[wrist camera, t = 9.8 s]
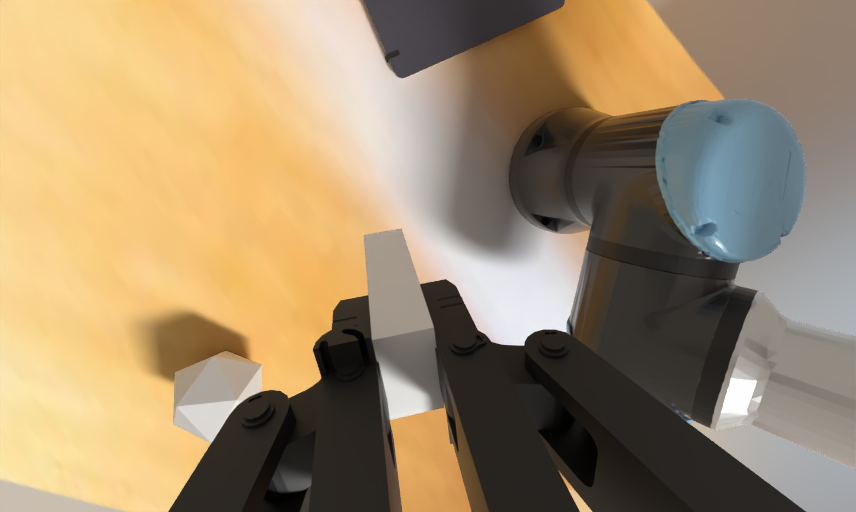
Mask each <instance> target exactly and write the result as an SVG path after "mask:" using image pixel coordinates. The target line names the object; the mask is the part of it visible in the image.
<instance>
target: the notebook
mask: <svg viewBox="0 0 856 512" xmlns="http://www.w3.org/2000/svg"><path fill="white" fill-rule="evenodd" d="M363 1H364V3H365V5H366V8H367V10H368V12H369V15H370V17H371V19H372V22H373V24H374V27H375V29H376V31H377V34H378V36H379V38H380V41H381V43H382V45H383V48H384V50H385V53H386V56H385V58H386V60H387V62H388V60H389V62H390V64H391V67H392V69H393V71H394V73H395V75H396V76H397V77H398V78H405V77H408V76H410V75H412V74H415V73H417V72H419V71H421V70H423V69H426V68H428V67H430V66H432V65H435V64H437V63H439V62H441V61H444V60H446V59H448V58H450V57H452V56H455V55H457V54H459V53H461V52H464V51H466V50H468V49H470V48H473V47H475V46H477V45H479V44H481V43H484V42H486V41H488V40H490V39H493V38H495V37H497V36H499V35H501V34H504V33H506V32H508V31H510V30H513V29H515V28H517V27H519V26H522V25H524V24H526V23H528V22H530V21H533V20H535V19H537V18H539V17H542V16H544V15H546V14H548V13H550V12H553V11H555V10H557V9H559V8H561V7H562V6H563V5H564V2H565V0H363Z"/></svg>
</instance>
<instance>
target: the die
mask: <svg viewBox="0 0 856 512" xmlns="http://www.w3.org/2000/svg"><path fill="white" fill-rule="evenodd" d="M259 392H262V365H261V364H258V363H256V362H253V361H251V360H248V359H246V358H243V357H241V356H238V355H236V354H233V353H231V352H228V351H224V352H221V353H219V354H217V355H214V356H212V357H210V358H207V359H205V360H203V361H200V362H198V363H196V364H193V365H191V366H189V367H186V368H184V369H182V370H179V371H177V372H175V387H174V419H173V424H174V425H176V426H178V427H180V428H182V429H184V430H186V431H188V432H190V433H192V434H194V435H196V436H197V437H199V438H201V439H203V440H205V441H207V442H209V443H212V442H213V440H214V438H215V437H216V435H217V434H218V432H219V431H220V429H221V427H222V426H223V424H224V423H225V421H226V419H227V418H228V416H229V415H230V413H231V412H232V411H233V410H234V409H235V408H236V406H237V405H238V404H240V403H241V402H243V401H244V400H245V399H247V398H248V397H250V396H252V395H255V394H257V393H259Z"/></svg>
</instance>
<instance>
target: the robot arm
mask: <svg viewBox="0 0 856 512" xmlns="http://www.w3.org/2000/svg"><path fill="white" fill-rule="evenodd" d="M509 182H510V189H511V194H512V197H513V200H514V202H515V204H516V206H517V208H518V210H519V211H520V213H521V214H522V215H523V216H524V218H525V219H526V220H528V221H529V222H530V223H531V224H533V225H535V226H536V227H538V228H541V229H544V230H547V231H550V232H554V233H560V234H572V233H578V232H582V231H587V230H590V234H589V239H588V243H587V247H586V250H585V255H584V259H583V264H582V268H581V273H580V277H579V282H578V286H577V290H576V294H575V298H574V302H573V306H572V311H571V315H570V316H569V319H568V321H567V326H566V328H567V333H566V332H562V331H558V330H541V331H537V332H534V333H533V334H531V335H530V336H528V337H527V339H526V341H525V345H524V346H514V345H500V344H497V343H493V342H491V341H490V339H489V338H488V337H487V336H486V335H485V334H484V333H482V332H480V331H478V330H477V328H476V326H475V324H474V322H473V320H472V318H471V316H470V314H469V312H468V310H467V308H466V306H465V304H464V301H463V299H462V297H460V293H459V291H458V289H457V287H456V286H455V285H454V284H452V283H451V282H449V281H448V280H446V279H445V280H440V281H435V282H429V283H424V284H419V281H418V277H417V274H416V271H415V268H414V265H413V262H412V259H411V256H410V253H409V250H408V247H407V244H406V241H405V238H404V235H403V232H402V229H397V230H391V231H385V232H379V233H373V234H368V235H364V245H365V258H366V270H367V283H368V295H367V296H362V297H357V298H352V299H347V300H341V301H340V302H339V303H338V305H337V306H336V308H335V309H334V311H333V323H332V330H331V331H329V332H327V333H326V334H324V335H322V336H321V337H320V338H319V339H318V340H317V342H316V343H315V345H314V348H313V352H314V355H315V358H316V361H317V364H318V367H319V370H320V374H321V380H320V381H319V382H317V383H316V384H315V385H314V386H312V387H311V388H309V389H307V390H305V391H303V392H301V393H299V394H297V395H295V396H293V397H291V398H288V397H287V395H285V394H284V393H282V392H281V391H275V390H269V391H263V392H259V393H257V394H255V395H252V396H250V397H248V398H247V399H245V400H244V401H243V402H241V403H240V404H238V405H237V406H236V408H235V409H234V410H233V411H232V412H231V413H230V415H229V416H228V418H227V419H226V421H225V423H224V424H223V426H222V427H221V429H220V431H219V432H218V434H217V435H216V437H215V438H214V440H213V442H212V443H211V445H210V446H209V448H208V450H207V451H206V453H205V454H204V456H203V458H202V459H201V461H200V462H199V464H198V465H197V467H196V469H195V470H194V472H193V473H192V475H191V477H190V478H189V480H188V481H187V483H186V485H185V486H184V488H183V489H182V491H181V492H180V494H179V496H178V497H177V499H176V500H175V502H174V504H173V505H172V507H171V508H170V510H169V512H402V506H401V498H400V489H399V481H398V473H397V464H396V456H395V448H394V439H393V434H392V430H391V425H390V420H392V419H396V418H401V417H405V416H409V415H414V414H418V413H422V412H426V411H431V410H435V409H439V408H444V404H445V408H446V413H447V421H448V429H449V437H450V444H452V443H453V445H454V449H455V452H456V456H457V459H458V463H459V467H460V470H461V474H462V478H463V481H464V485H465V489H466V492H467V496H468V500H469V503H470V507H471V511H472V512H580V511H579V509H578V507H577V505H576V504H575V502H574V500H573V498H572V496H571V494H570V492H569V490H568V488H567V486H566V484H565V483H564V481H563V479H562V477H561V475H560V473H559V471H560V472H561V474H562V475H563V476H564V477H565V479H566V480H567V481H568V482H569V483H570V485H571V486H572V487H573V488H574V489H575V491H576V492H577V493H578V494H579V496H580V497H581V498H582V499H583V500H584V502H585V503H586V504H587V505H588V507H590V509H591V510H592V511H593V512H805V511H804V510H803V509H802V508H800V507H799V506H798V505H796V504H795V503H794V502H792V501H791V500H790V499H788V498H787V497H786V496H784V495H783V494H781V493H780V492H779V491H778V490H776V489H775V488H774V487H772V486H771V485H770V484H768V483H767V482H766V481H764V480H763V479H762V478H761V477H759V476H758V475H756V474H755V473H754V472H753V471H751V470H750V469H749V468H747V467H746V466H745V465H743V464H742V463H741V462H739V461H738V460H737V459H735V458H734V457H733V456H731V455H730V454H729V453H727V452H726V451H725V450H723V449H722V448H721V447H719V446H718V445H717V444H715V443H714V442H713V441H711V440H710V439H709V438H707V437H706V436H705V435H703V434H702V433H701V432H699V431H698V430H697V429H696V428H694V427H693V426H691V425H690V423H692V421H696V422H698V423H700V424H702V425H705V426H707V427H709V428H711V429H713V430H720V429H724V428H729V427H733V426H738V425H753V426H755V427H757V428H760V429H762V430H764V431H767V432H769V433H771V434H774V435H776V436H778V437H781V438H783V439H786V440H788V441H790V442H793V443H795V444H797V445H800V446H802V447H804V448H807V449H809V450H811V451H814V452H816V453H818V454H821V455H823V456H825V457H828V458H830V459H833V460H835V461H837V462H839V463H842V464H844V465H847V466H849V467H851V468H854V469H856V336H853V335H849V334H845V333H841V332H837V331H833V330H830V329H826V328H822V327H818V326H814V325H811V324H807V323H803V322H799V321H795V320H792V319H789V318H787V317H785V316H784V315H782V314H781V313H780V312H779V311H778V310H777V308H776V307H775V306H774V304H773V303H772V302H771V301H770V300H769V298H768V297H767V296H766V295H765V293H763V292H760V291H757V290H752V289H749V288H744V287H740V286H737V285H735V284H734V280H735V277H736V274H737V270H738V267H739V264H740V263H742V262H745V261H753V260H756V259H759V258H762V257H764V256H766V255H767V254H769V253H771V252H772V251H774V250H775V249H776V248H777V247H778V246H779V245H780V244H781V243H780V242H781V241H780V237H783V236H786V235H788V234H789V233H790V232H791V230H792V228H793V227H794V225H795V223H796V221H797V218H798V216H799V213H800V210H801V207H802V204H803V199H804V194H805V186H806V167H805V159H804V155H803V150H802V146H801V144H800V143H799V142H798V140H797V137H796V134H795V131H794V129H793V127H792V126H791V125H790V123H789V122H788V121H787V120H786V118H785V117H784V116H783V115H781V114H780V113H779V112H778V111H777V110H775V109H774V108H772V107H770V106H769V105H766V104H764V103H762V102H759V101H755V100H750V99H728V100H719V101H707V100H697V101H690V102H687V103H684V104H681V105H679V106H673V107H667V108H661V109H655V110H649V111H643V112H637V113H631V114H625V115H619V116H611V115H608V114H605V113H602V112H599V111H596V110H593V109H589V108H584V107H570V108H565V109H560V110H556V111H553V112H550V113H548V114H545V115H544V116H542V117H540V118H539V119H537V120H536V121H535V122H534V123H532V124H531V125H530V126H529V127H528V128H527V130H526V131H525V132H524V133H523V135H522V136H521V138H520V139H519V141H518V143H517V145H516V147H515V150H514V152H513V156H512V159H511V164H510V172H509ZM443 401H444V402H443ZM558 470H559V471H558Z"/></svg>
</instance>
